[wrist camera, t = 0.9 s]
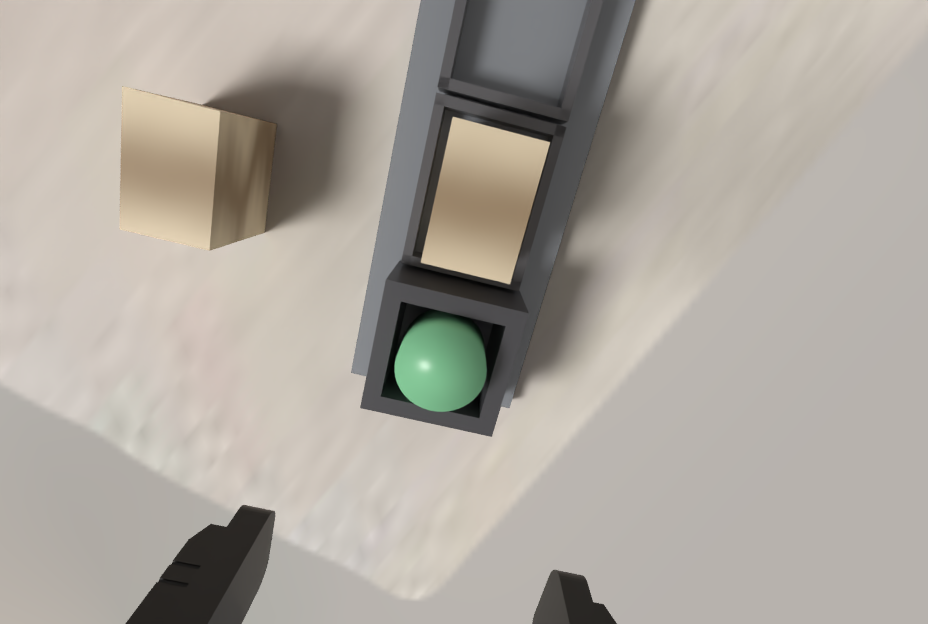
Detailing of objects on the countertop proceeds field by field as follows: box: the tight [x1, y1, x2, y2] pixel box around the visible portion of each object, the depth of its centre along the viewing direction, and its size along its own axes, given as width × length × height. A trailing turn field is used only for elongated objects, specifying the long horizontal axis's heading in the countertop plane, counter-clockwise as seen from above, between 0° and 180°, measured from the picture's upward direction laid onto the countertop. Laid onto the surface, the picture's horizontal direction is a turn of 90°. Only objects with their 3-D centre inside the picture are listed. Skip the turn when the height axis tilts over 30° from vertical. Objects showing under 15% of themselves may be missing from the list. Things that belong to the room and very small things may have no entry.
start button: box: [395, 309, 487, 412], centre depth 23 cm, size 4×4×3 cm
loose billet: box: [120, 86, 277, 251], centre depth 23 cm, size 6×4×6 cm, turn 166°
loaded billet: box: [421, 117, 550, 284], centre depth 22 cm, size 6×4×6 cm, turn 166°
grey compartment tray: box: [351, 0, 635, 437], centre depth 23 cm, size 25×10×6 cm, turn 166°
